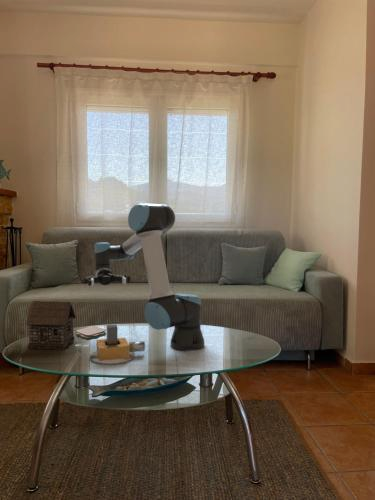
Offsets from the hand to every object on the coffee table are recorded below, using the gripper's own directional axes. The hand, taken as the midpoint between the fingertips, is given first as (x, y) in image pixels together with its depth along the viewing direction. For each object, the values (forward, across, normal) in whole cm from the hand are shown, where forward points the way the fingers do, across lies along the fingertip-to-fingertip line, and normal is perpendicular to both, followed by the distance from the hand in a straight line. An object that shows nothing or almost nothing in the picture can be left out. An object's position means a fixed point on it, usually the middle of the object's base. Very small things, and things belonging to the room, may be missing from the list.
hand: (109, 282), depth 180 cm
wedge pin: (+10, 0, -29) cm, 30 cm away
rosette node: (+9, -2, -30) cm, 31 cm away
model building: (-15, +24, -29) cm, 41 cm away
